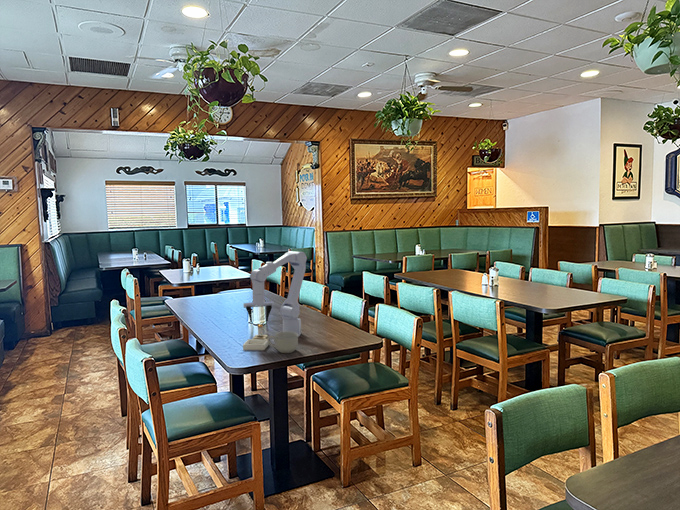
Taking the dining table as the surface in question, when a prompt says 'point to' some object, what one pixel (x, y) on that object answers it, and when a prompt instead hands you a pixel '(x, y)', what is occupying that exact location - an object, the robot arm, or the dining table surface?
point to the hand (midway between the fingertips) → (258, 321)
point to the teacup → (285, 341)
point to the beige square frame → (260, 337)
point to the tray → (255, 344)
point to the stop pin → (260, 330)
